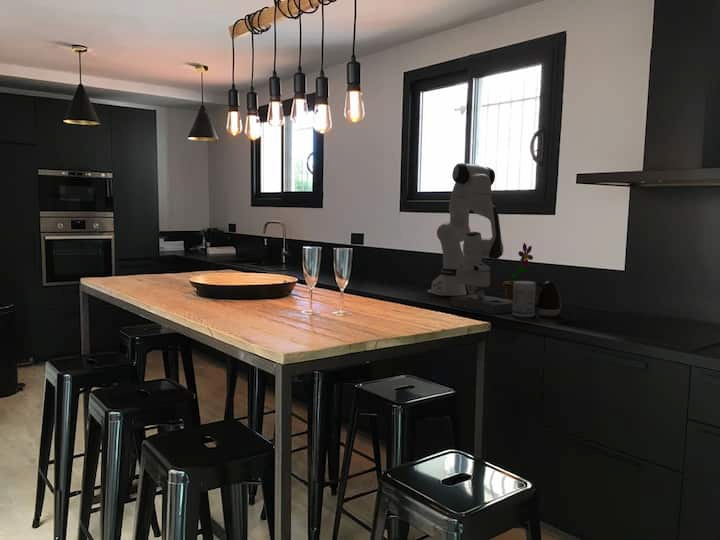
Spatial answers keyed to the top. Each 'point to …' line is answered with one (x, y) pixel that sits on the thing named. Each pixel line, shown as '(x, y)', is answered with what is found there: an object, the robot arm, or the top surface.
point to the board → (483, 303)
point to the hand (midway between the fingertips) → (471, 294)
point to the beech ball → (480, 294)
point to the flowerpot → (509, 284)
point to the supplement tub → (524, 298)
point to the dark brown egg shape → (549, 299)
